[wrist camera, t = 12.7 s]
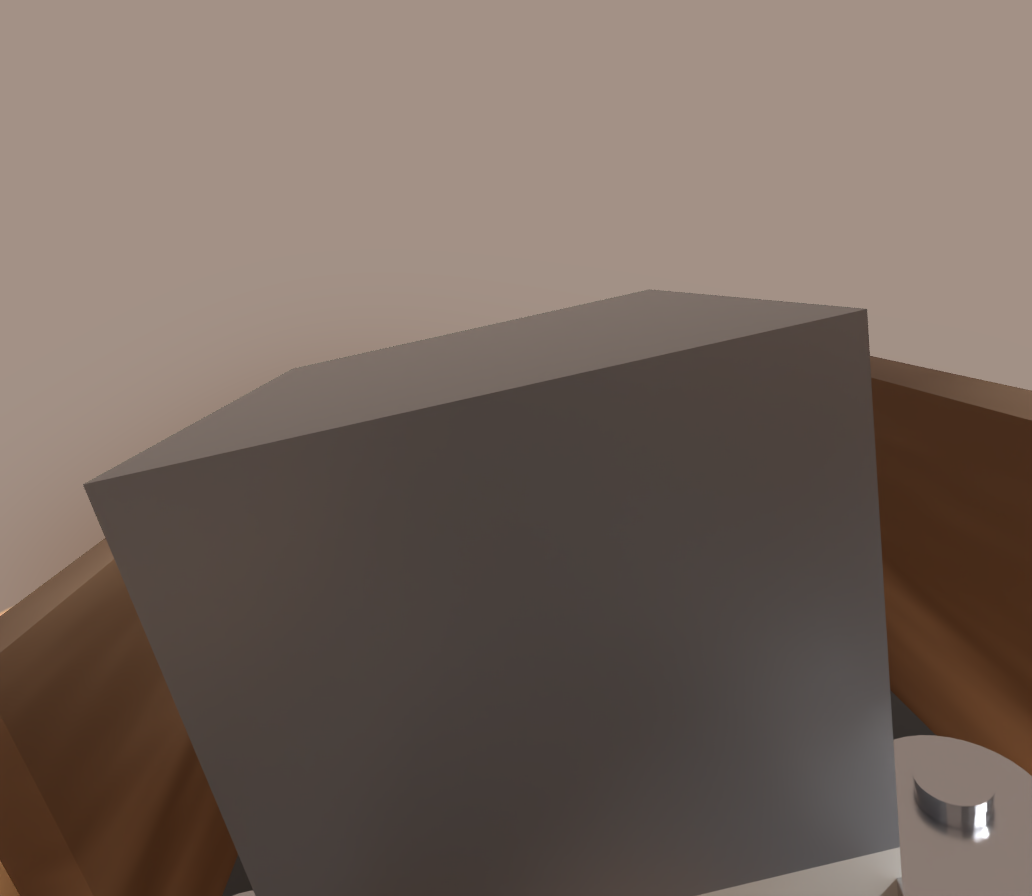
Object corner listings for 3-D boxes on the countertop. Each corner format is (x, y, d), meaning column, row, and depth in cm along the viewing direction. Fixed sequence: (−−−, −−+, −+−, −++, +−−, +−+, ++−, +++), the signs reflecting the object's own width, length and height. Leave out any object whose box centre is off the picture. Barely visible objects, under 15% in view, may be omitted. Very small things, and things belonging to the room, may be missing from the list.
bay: (759, 529, 29) (736, 327, 26) (1101, 832, 13) (1123, 410, 11) (306, 632, 28) (239, 438, 26) (115, 1066, 13) (-96, 688, 10)
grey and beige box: (733, 967, 12) (624, 287, 8) (940, 1502, 6) (867, 306, 3) (514, 1020, 11) (316, 355, 8) (551, 1600, 6) (84, 484, 3)
